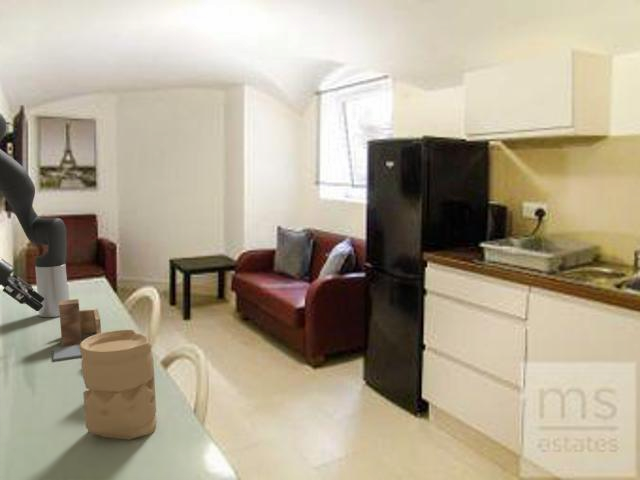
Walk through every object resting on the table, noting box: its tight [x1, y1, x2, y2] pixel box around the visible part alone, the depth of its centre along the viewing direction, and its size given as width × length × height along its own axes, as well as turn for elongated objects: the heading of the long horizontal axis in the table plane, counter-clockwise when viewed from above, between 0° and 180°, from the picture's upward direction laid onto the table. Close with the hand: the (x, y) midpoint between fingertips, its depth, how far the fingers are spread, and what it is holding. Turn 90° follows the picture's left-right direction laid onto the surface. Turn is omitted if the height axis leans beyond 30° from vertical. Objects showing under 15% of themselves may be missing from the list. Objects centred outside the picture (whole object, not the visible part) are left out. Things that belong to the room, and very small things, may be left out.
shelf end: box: [79, 308, 102, 335], centre depth 151 cm, size 9×13×7 cm
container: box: [79, 328, 157, 441], centre depth 97 cm, size 13×13×18 cm
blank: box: [59, 298, 83, 347], centre depth 147 cm, size 5×5×12 cm
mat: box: [53, 344, 83, 362], centre depth 140 cm, size 9×9×1 cm
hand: (41, 304), depth 144 cm, fingers open, 8 cm apart
